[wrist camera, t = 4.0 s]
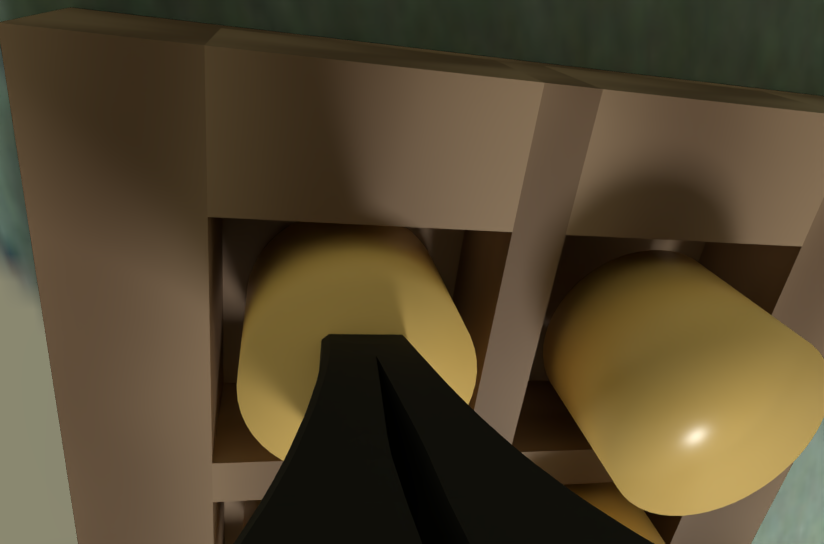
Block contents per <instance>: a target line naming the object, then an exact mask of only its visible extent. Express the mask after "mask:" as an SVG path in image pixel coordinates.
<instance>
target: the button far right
mask: <svg viewBox="0 0 824 544" xmlns="http://www.w3.org/2000/svg"><path fill="white" fill-rule="evenodd" d="M564 486H565V487H567V488H568V489H570V490H571V491H572V492H574V493H575V494H577V495H578V496H580V497H581V498H583V499H584V500H586V501H587V502H588V503H590V504H591V505H593V506H595V507H596V508H598V509H599V510H601V511H602V512H604V513H606V514H607V515H609V516H610V517H612V518H613V519H615V520H616V521H618V522H620V523H621V524H623V525H624V526H626V527H627V528H629V529H631V530H632V531H634V532H635V533H637V534H639V535H640V536H642V537H644V538H646V539H647V540H649V541H651V542H652V543H654V544H665V542H664V541H663V539H662V537H661V536H660V534H659V533H658V531H657V530H656V528H655V527H654V525H653V524H652V522H651V521H650V519H649V518H648V516H647V515H646V513H645V512H644V510H643V509H641V508H639V507H637V506H635V505H634V504H632V503H631V502H629V501H628V500H627V499H626V498H625V497H624V496H623V495H622V493H621V492H620V491H619V489H618V488H617V486H616V485H615V483H614V482H604V483H584V484H565V485H564Z"/></svg>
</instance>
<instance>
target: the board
mask: <svg viewBox="0 0 824 544" xmlns="http://www.w3.org/2000/svg"><path fill="white" fill-rule="evenodd" d="M0 43H1V50H2V56H3V63H4V69H5V76H6V82H7V89H8V95H9V101H10V108H11V114H12V121H13V127H14V134H15V140H16V147H17V153H18V160H19V166H20V172H21V179H22V185H23V192H24V198H25V205H26V211H27V218H28V224H29V230H30V237H31V243H32V250H33V256H34V263H35V269H36V276H37V282H38V288H39V295H40V301H41V308H42V314H43V321H44V327H45V333H46V340H47V346H48V353H49V359H50V366H51V372H52V379H53V385H54V391H55V398H56V404H57V411H58V417H59V423H60V430H61V436H62V443H63V449H64V456H65V462H66V469H67V475H68V481H69V488H70V495H71V501H72V508H73V514H74V520H75V527H76V533H77V540H78V544H234V542H235V541H236V539H237V538H238V536H239V535H240V533H241V532H242V530H243V518H244V506H245V501H247V500H262V499H263V497H264V495H265V493H266V492H267V490H268V488H269V486H270V485H271V483H272V481H273V480H274V478H275V476H276V474H277V472H278V470H279V469H280V467H281V465H282V463H283V460H281V459H279V458H278V457H276V456H275V455H273V454H272V453H270V452H269V451H268V450H267V449H266V448H265V447H263V446H262V445H261V444H260V443H259V442H258V440H257V439H256V438H255V437H254V436H253V435H252V433H251V431H250V430H249V428H248V427H247V425H246V423H245V421H244V419H243V417H242V414H241V411H240V408H239V404H238V398H237V377H238V367H239V358H240V349H241V340H242V331H243V322H244V313H245V304H246V295H247V286H248V281H249V277H250V273H251V271H252V269H253V266H254V264H255V262H256V260H257V258H258V257H259V255H260V253H261V252H262V250H263V249H264V248H265V247H266V245H267V244H268V243H269V242H270V241H271V240H272V239H273V238H274V237H275V236H276V235H277V234H278V233H280V232H281V231H282V230H284V229H285V228H287V227H288V226H289V225H291V224H293V223H295V222H297V221H300V222H320V223H340V224H360V225H380V226H400V227H406V228H407V229H408V230H410V231H411V232H412V233H413V234H414V235H415V236H416V237H417V238H418V239H419V240H420V241H421V242H422V244H423V245H424V246H425V248H426V249H427V251H428V253H429V255H430V257H431V258H432V260H433V262H434V264H435V266H436V268H437V270H438V272H439V274H440V276H441V278H442V280H443V282H444V284H445V286H446V288H447V290H448V292H449V294H450V296H451V298H452V300H453V302H454V304H455V306H456V308H457V310H458V312H459V314H460V316H461V318H462V320H463V322H464V324H465V326H466V328H467V330H468V332H469V334H470V336H471V339H472V342H473V345H474V348H475V354H476V359H477V375H476V382H475V387H474V390H473V394H472V397H471V399H470V402H469V404H468V405H469V406H470V407H471V408H472V409H473V410H474V411H475V412H476V413H477V414H478V415H479V416H480V417H481V418H483V419H484V420H485V421H486V422H487V423H488V424H489V425H490V426H491V427H492V428H494V429H495V430H496V431H497V432H498V433H499V434H500V435H501V436H503V437H504V438H505V439H506V440H507V441H508V442H509V443H511V444H512V445H513V446H514V447H515V448H516V449H518V450H519V451H520V452H521V453H522V454H524V455H525V456H526V457H527V458H529V459H530V460H531V461H532V462H534V463H535V464H536V465H538V466H539V467H540V468H542V469H543V470H544V471H546V472H547V473H548V474H550V475H551V476H552V477H554V478H555V479H556V480H558V481H559V482H560V483H562V484H563V485H565V484H584V483H604V482H613V480H612V478H611V477H610V475H609V474H608V472H607V471H606V469H605V467H604V466H603V464H602V463H601V461H600V460H599V458H598V456H597V455H596V453H595V452H594V450H593V449H592V447H591V445H590V444H589V442H588V441H587V439H586V438H585V436H584V434H583V433H582V431H581V430H580V428H579V427H578V425H577V423H576V422H575V420H574V419H573V417H572V416H571V414H570V412H569V411H568V409H567V408H566V406H565V405H564V403H563V401H562V400H561V398H560V397H559V395H558V394H557V392H556V390H555V389H554V387H553V386H552V384H551V383H550V380H549V378H548V376H547V374H546V371H545V367H544V361H543V344H544V339H545V334H546V331H547V328H548V325H549V323H550V320H551V318H552V316H553V314H554V312H555V311H556V309H557V307H558V306H559V304H560V303H561V301H562V300H563V299H564V298H565V296H566V295H567V294H568V293H569V291H570V290H571V289H572V288H573V287H574V286H575V285H576V284H577V283H578V282H580V281H581V280H582V279H583V278H584V277H586V276H587V275H588V274H589V273H591V272H592V271H594V270H595V269H597V268H598V267H600V266H602V265H604V264H606V263H607V262H609V261H611V260H614V259H616V258H619V257H621V256H624V255H627V254H631V253H635V252H640V251H646V250H666V251H673V252H677V253H681V254H684V255H686V256H688V257H690V258H692V259H694V260H695V261H697V262H698V263H700V264H701V265H702V266H704V267H705V268H707V269H708V270H709V271H711V272H712V273H714V274H715V275H716V276H718V277H719V278H720V279H722V280H723V281H725V282H726V283H727V284H729V285H730V286H732V287H733V288H734V289H736V290H737V291H738V292H740V293H741V294H743V295H744V296H745V297H747V298H748V299H750V300H751V301H752V302H754V303H755V304H756V305H758V306H759V307H761V308H762V309H763V310H765V311H766V312H768V313H769V314H770V315H772V316H773V317H774V318H776V319H777V320H779V321H780V322H781V323H783V324H784V325H786V326H787V327H788V328H790V329H791V330H792V331H794V332H795V333H797V334H798V335H799V336H801V337H802V338H804V339H805V340H806V341H808V342H809V343H810V344H812V345H813V346H814V347H815V348H816V349H817V350H818V351H819V352H820V354H821V355H822V357H823V359H824V96H818V95H810V94H801V93H793V92H784V91H776V90H767V89H759V88H750V87H742V86H733V85H725V84H716V83H708V82H699V81H691V80H682V79H674V78H665V77H657V76H649V75H640V74H632V73H623V72H615V71H606V70H598V69H589V68H581V67H572V66H564V65H555V64H547V63H538V62H530V61H521V60H513V59H504V58H496V57H487V56H479V55H470V54H462V53H453V52H445V51H436V50H428V49H419V48H411V47H402V46H394V45H385V44H377V43H368V42H360V41H351V40H343V39H334V38H326V37H317V36H309V35H300V34H292V33H283V32H275V31H266V30H258V29H249V28H241V27H232V26H224V25H215V24H207V23H198V22H190V21H181V20H173V19H164V18H156V17H147V16H139V15H130V14H122V13H113V12H105V11H96V10H88V9H80V8H71V7H70V8H65V9H60V10H55V11H51V12H46V13H41V14H36V15H31V16H27V17H22V18H17V19H12V20H7V21H3V22H0ZM792 464H793V463H792ZM792 464H790V465H789V466H788V467H787V468H786V469H785V470H784V471H783V472H782V473H781V474H779V475H778V476H777V477H776V478H775V479H773V480H772V481H771V482H769V483H768V484H766V485H765V486H763V487H762V488H761V489H759V490H757V491H756V492H754V493H752V494H750V495H749V496H747V497H745V498H743V499H741V500H739V501H737V502H735V503H732V504H730V505H727V506H725V507H722V508H719V509H716V510H712V511H709V512H704V513H700V514H694V515H685V516H668V515H659V514H655V513H651V512H648V511H645V510H644V512H645V513H646V515H647V516H648V518H649V519H650V521H651V522H652V524H653V525H654V527H655V528H656V530H657V531H658V533H659V534H660V536H661V537H662V539H663V541H664V542H665V544H751V542H752V541H753V539H754V537H755V535H756V533H757V531H758V529H759V527H760V525H761V523H762V521H763V520H764V518H765V516H766V514H767V512H768V510H769V508H770V506H771V504H772V502H773V500H774V499H775V497H776V495H777V493H778V491H779V489H780V487H781V485H782V483H783V481H784V479H785V478H786V476H787V474H788V472H789V470H790V468H791V466H792Z"/></svg>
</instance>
